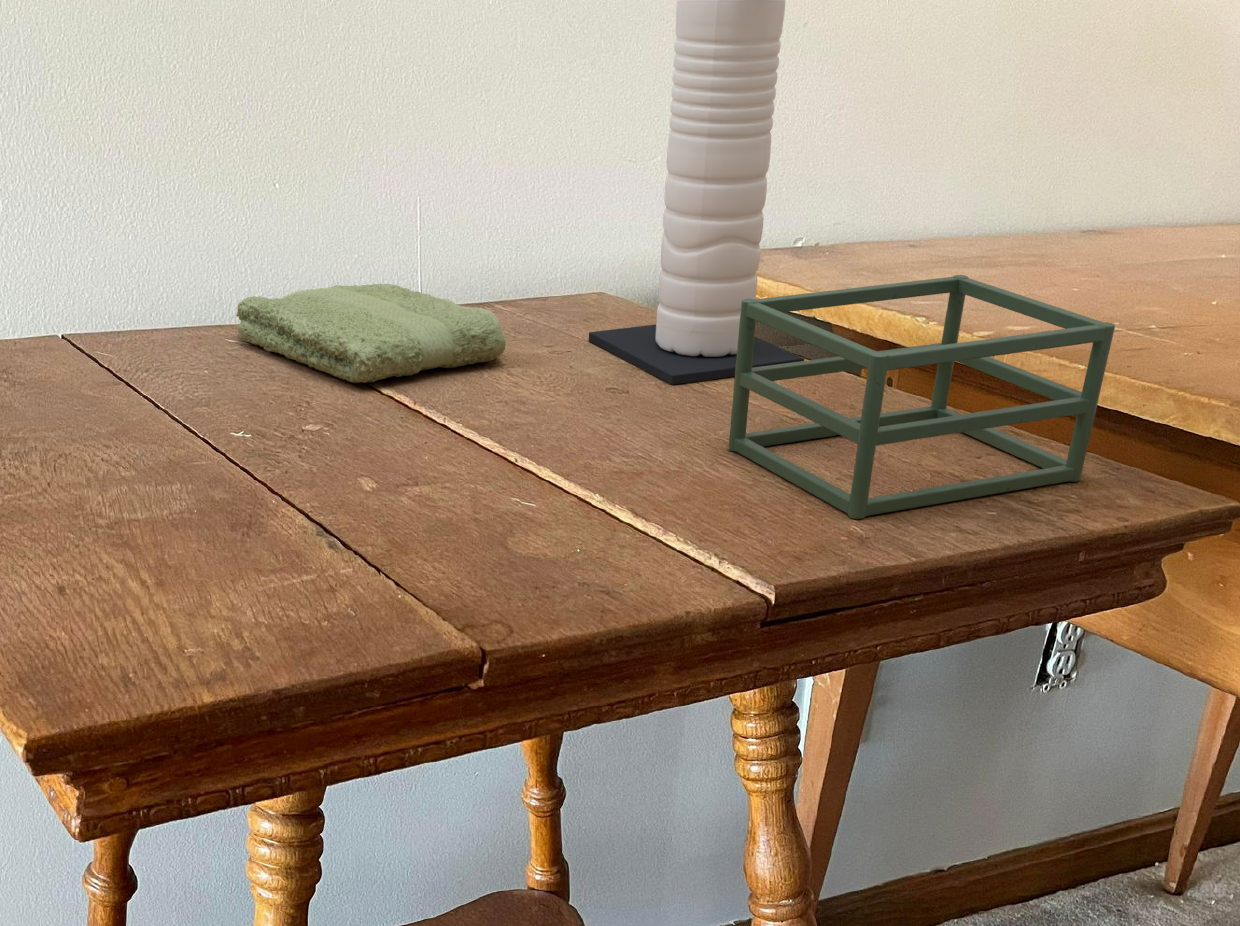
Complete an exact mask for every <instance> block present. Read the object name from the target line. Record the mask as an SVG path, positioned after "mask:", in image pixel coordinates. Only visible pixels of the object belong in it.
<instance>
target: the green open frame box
mask: <svg viewBox="0 0 1240 926" xmlns="http://www.w3.org/2000/svg"><path fill="white" fill-rule="evenodd" d="M942 294H948V300H947V306H946V311H945V313H946V314H945V319H944V325H943V330H942V337H941V342H937V343H932V344H930V343H929V344H924V345H915V346H907V347H901V348H892V349H885V350H874V349H872V348H869V347H868V346H865V345H862V344H860V343H857V342H855V341H852V340H850V339H847V338H846V337H843V336H840V335H838V334H836V333H833V332H830V331H828V330H826V329H823V328H821V327H820V326H819V327H818V326H816V325H813V324H811V323H809V322H806V321H804V320H802V319H799V318H797V317H794V316H792V315H789V314H787V313H790V312H799V311H807V310H816V309H817V310H818V309H825V308H832V307H842V306H849V305H856V304H857V305H858V304H866V303H875V302H883V301H892V300H900V299H908V298H917V297H926V296H933V295H942ZM966 296H968V297H971V298H973V299H976V300H979V301H982V302H986V303H988V304H992V305H993V306H997V307H999V308H1000V307H1001V308H1003V309H1006V310H1009V311H1011V312H1015V313H1018V314H1021V315H1024V316H1026V317H1029V318H1033V319H1035V320H1038V321H1041V322H1044V323H1047V324H1049V325H1050V324H1051V325H1052V326H1056V327H1059V328H1061V329H1054V330H1045V331H1037V332H1031V333H1024V334H1023V333H1022V334H1015V335H1007V336H1001V337H999V336H998V337H993V338H984V339H978V340H971V341H969V340H968V341H961V342H958V341H959V336H960V330H961V323H962V319H963V318H962V317H963V312H964V305H965V300H966ZM757 322H759V323H760V324H764V326H765V325H766V326H767V327H770V328H772V329H774V330H777V331H779V332H782V333H784V334H787V335H788V336H791V337H793V338H795V339H798V340H800V341H803V342H805V343H807V344H810V345H812V346H814V347H816V348H819V349H821V350H823V351H826V352H828V353H831V354H833V355H835V356H832V357H825V358H824V357H823V358H816V359H807V360H804V361H800V362H792V363H785V364H777V365H770V366H762V367H754V368H752V362H753V351H754V341H755V337H756V328H757ZM1115 329H1116V324H1114V323H1112V322H1108V321H1107V322H1105V321H1101V320H1098V319H1095V318H1092V317H1089V316H1085V315H1082V314H1080V313H1076V312H1074V311H1070V310H1068V309H1064V308H1062V307H1058V306H1055V305H1052V304H1049V303H1046V302H1043V301H1040V300H1037V299H1034V298H1031V297H1027V296H1024V295H1022V294H1018V293H1016V292H1013V291H1009V290H1006V289H1003V288H1000V287H997V286H995V285H991V284H988V283H985V282H982V281H979V280H976V279H973V278H970V277H969V276H968V275H965V274H964V275H963V274H954V275H952V276H947V277H939V278H931V279H930V278H929V279H920V280H912V281H903V282H895V283H887V284H885V283H884V284H877V285H868V286H859V287H852V288H851V287H850V288H843V289H842V288H841V289H834V290H824V291H817V292H808V293H798V294H790V295H782V296H772V297H764V298H756V299H743V300H742V302H741V313H740V324H739V335H738V347H737V358H736V369H735V377H734V381H733V394H732V403H731V415H730V416H731V417H730V425H729V426H730V427H729V438H728V450H729V451H731V452H735V453H738V454H740V455H742V456H743V457H745V458H747V459H748V460H751V461H752V462H754V463H756V464H757V465H760V466H761V467H763V468H765V469H766V470H768V471H770V472H771V473H774V474H775V475H777V476H779V477H781V478H783V479H785V480H786V481H787V482H790V483H792V484H793V485H795V486H797V487H799V488H800V489H802V490H805V492H808V493H810V494H812V495H813V496H815V497H817V498H819V499H820V500H822V501H823V502H825V503H828V504H829V505H831V506H833V507H834V508H836V509H838V510H840V511H841V512H844V513H845V514H847V517H848V518H850V519H853V520H863V519H865V518H866V517H868V516H874V515H880V514H881V515H882V514H885V513H893V512H898V511H903V510H909V509H915V508H921V507H926V506H927V507H928V506H933V505H938V504H944V503H950V502H956V501H961V500H968V499H972V498H980V497H986V496H992V495H996V494H1002V493H1008V492H1014V491H1019V490H1026V489H1031V488H1037V487H1042V486H1043V487H1044V486H1049V485H1054V484H1060V483H1066V482H1071V483H1075V482H1076V483H1077V482H1079V481H1080V480H1081V477H1082V474H1083V469H1084V465H1085V461H1086V456H1087V453H1088V446H1089V442H1090V438H1091V434H1092V430H1093V424H1094V421H1095V417H1096V413H1097V408H1098V403H1099V400H1100V394H1101V390H1102V387H1103V386H1102V385H1103V382H1104V378H1105V373H1106V369H1107V365H1108V359H1109V354H1110V350H1111V347H1112V346H1111V345H1112V342H1113V337H1114V333H1115ZM1085 344H1092V345H1091V349H1090V354H1089V358H1088V363H1087V368H1086V371H1085V375H1084V381H1083V385H1082V390H1081V391H1080V390H1078V389H1074V388H1072V387H1069V386H1067V385H1064V384H1062V383H1059V382H1056V381H1054V380H1051V379H1049V378H1046V377H1043V376H1041V375H1038V374H1035V373H1033V372H1030V371H1028V370H1025V369H1022V368H1019V367H1017V366H1015V365H1012V364H1009V363H1007V362H1004V361H1001V360H999V359H996V358H993V357H997V356H1005V355H1010V354H1011V355H1012V354H1018V353H1019V354H1020V353H1026V352H1033V351H1035V352H1036V351H1041V350H1042V351H1043V350H1048V349H1049V350H1050V349H1056V348H1065V347H1070V346H1077V345H1085ZM955 362H957V363H958V364H961V365H964V366H966V367H969V368H972V369H974V370H977V371H979V372H981V373H983V374H984V373H985V374H986V375H989V376H991V377H994V378H997V379H1000V380H1002V381H1005V382H1007V383H1009V384H1012V385H1015V386H1017V387H1020V388H1022V389H1023V390H1024V389H1025V390H1027V391H1030V392H1031V393H1034V394H1037V395H1039V396H1042V397H1044V398H1047V399H1050V400H1051V401H1043V402H1036V403H1029V404H1023V405H1016V406H1015V405H1014V406H1009V407H1003V408H997V409H990V410H982V411H976V412H969V413H963V414H961V413H959V412H957V411H954V410H952V409H951V408H948V407H947V406H948V401H949V394H950V388H951V382H952V376H953V370H954V365H955ZM931 365H937V368H936V373H935V378H934V385H933V391H932V396H931V404H930V405H929V406H922V407H915V408H908V409H901V410H895V411H888V412H882V406H883V398H884V392H885V386H886V379H887V372H888V371H893V370H894V371H895V370H901V369H910V368H917V367H923V366H931ZM865 369H867V372H866V381H865V388H864V395H863V402H862V410H861V415H859V416H854V417H848V416H846V415H843V414H841V413H840V412H837V411H835V410H833V409H831V408H829V407H827V406H825V405H822V404H820V403H818V402H816V401H814V400H812V399H810V398H808V397H806V396H804V395H802V394H800V393H797V392H795V391H793V390H791V389H789V388H787V387H785V386H783V385H781V384H778V383H776V382H777V381H784V380H791V379H798V378H799V379H800V378H807V377H814V376H821V375H829V374H836V373H843V372H851V371H858V370H865ZM751 392H753V393H755V394H757V395H758V396H760V397H762V398H765V399H767V400H768V401H771V402H773V403H775V404H777V405H778V406H781V407H783V408H785V409H787V410H789V411H791V412H793V413H795V414H797V415H798V416H800V417H803V418H805V419H807V420H809V421H811V423H808V424H807V423H806V424H800V425H792V426H785V427H779V428H773V429H771V428H770V429H766V430H765V429H764V430H759V431H750V432H747V424H748V416H749V415H748V413H749V405H750V393H751ZM1069 416H1076V417H1075V421H1074V426H1073V429H1072V436H1071V439H1070V444H1069V448H1068V454H1067V458H1066V459H1065V458H1063V457H1060V456H1058V455H1057V454H1054V453H1051V452H1049V451H1047V450H1044V449H1043V448H1040V447H1038V446H1035V445H1033V444H1030V443H1028V442H1026V441H1024V440H1022V439H1019V438H1017V437H1015V436H1012V435H1010V434H1008V433H1005V432H1003V431H1000V430H999V429H996V428H998V427H1004V426H1011V425H1017V424H1024V423H1032V422H1038V421H1044V420H1051V419H1056V418H1057V419H1058V418H1062V417H1063V418H1064V417H1069ZM812 422H813V423H812ZM960 433H963V434H965V435H968V436H969V437H972V438H975V439H977V440H978V441H981V442H983V443H986V444H987V445H990V446H992V447H994V448H997V449H999V450H1000V451H1003V452H1006V453H1007V454H1010V455H1013V456H1015V457H1017V458H1019V459H1021V460H1024V461H1026V462H1028V463H1030V464H1032V465H1035V466H1037V467H1039V468H1041V469H1036V470H1035V469H1034V470H1029V471H1023V472H1017V473H1010V474H1005V475H998V476H993V477H987V478H981V479H974V480H969V481H962V482H957V483H951V484H945V485H939V486H934V487H928V488H922V489H915V490H909V491H904V492H898V493H892V494H885V495H879V496H874V497H869V495H870V489H871V482H872V474H873V468H874V460H875V453H876V449H877V446H883V445H889V444H896V443H902V442H908V441H909V442H910V441H914V440H922V439H927V438H933V437H934V438H935V437H941V436H947V435H953V434H960ZM836 436H842V437H844V438H846V439H848V440H849V441H852V442H853V443H856V444H857V447H856V453H855V461H854V467H853V468H854V469H853V475H852V483H851V489H850V493H849V492H847V491H845V490H843V489H841V488H839V487H838V486H836V485H834V484H832V483H830V482H829V481H827V480H825V479H823V478H821V477H819V476H817V475H816V474H814V473H812V472H810V471H808V470H806V469H805V468H803V467H801V466H799V465H797V464H795V463H793V462H792V461H790V460H788V459H786V458H784V457H782V456H780V455H779V454H776V453H775V452H773V451H771V450H769V449H767V448H765V447H769V446H775V445H781V444H789V443H795V442H801V441H802V442H803V441H810V440H817V439H823V438H828V437H829V438H830V437H836Z"/></svg>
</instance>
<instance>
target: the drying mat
mask: <svg viewBox="0 0 1240 926" xmlns="http://www.w3.org/2000/svg"><path fill="white" fill-rule="evenodd" d="M588 341H589V342H590V343H592V344H594V345H595V346H597V347H599V348H601V349H603V350H605V351H607V352H609V353H611V354H613V355H614V356H616V357H618V358H620V359H622V360H624V361H626V362H627V363H630V364H632V365H633V366H635V367H637V368H639V369H641V370H643V371H645V372H647V373H649V374H651V375H653V376H654V377H656V378H658V379H660V380H662V381H663V382H665V383H668V384H670V385H672V386H673V385H674V386H675V385H682V384H688V383H696V382H697V383H698V382H703V381H711V380H718V379H726V378H727V379H728V378H735V369H736V358H737V354H734V355H729V354H727V355H725V356H721V357H705V356H703V355H702V354H700V355H698V356H686V355H680V354H677V353H676V352H669V351H666V350H664V349H662V348H660V346H659V345H658V344H657V343H656V323H655V324H647V325H638V326H630V327H622V328H614V329H613V328H612V329H604V330H597V331H589V332H588ZM800 361H805V358H804V357H802V356H800V355H798V354H795V353H794V352H791V351H789V350H787V349H785V348H781V347H780V346H778V345H775V344H773V343H770V342H769V341H766V340H764V339H761V338H759V337H757V336H755V341H754V351H753V362H752V368H754V367H762V366H770V365H777V364H785V363H792V362H800Z"/></svg>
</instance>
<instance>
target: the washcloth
mask: <svg viewBox="0 0 1240 926" xmlns="http://www.w3.org/2000/svg"><path fill="white" fill-rule="evenodd" d="M235 316H236V317H238V320H239V321H240V322H239V324H238V327H237V333H238V336H239V338H240V339H242V340H243V341H244V342H246V343H250V344H251V345H254V346H259V347H261V348H263V350H265V351H267V352H269V353H270V352H273V353H277V354H280V355H282V356H284V357H286V358H287V359H289V360H294V361H296V362H297V363H302V364H305V365H306V366H307V365H308V367H309V368H314V370H318V371H321V372H324V373H327V374H329V375H330V376H333V377H335V378H338V379H341V380H346V381H347V382H350V383H374V382H377V381H381V380H385V379H387V378H391V377H396V378H398V377H399V378H400V377H405V376H406V377H407V376H413V375H415V374H418V373H419V372H420V371H426V370H432V369H436V368H444V369H456V368H458V367H462V366H466V365H474V364H478V363H488V362H491V361H493V360H495V358H497V357H500V356H501V355H502V354H503V353H504V351H505V350H506V346H507V345H506V343H507V342H506V338H505V335H504V332H503V328H502V326H501V323H500V320H499V319H498V317H497V315H495V314H494V313H493V312H492V311H491V310H488V309H487V308H483V307H482V308H481V307H467V306H463V305H460V304H457V303H455V302H454V301H452V300H450V299H447V298H441V297H436V296H432V295H431V294H430V293H429V294H428V293H424V292H421V291H414V290H411V289H409V288H406V287H403V286H400V285H397V284H393V283H373V284H361V285H339V284H337V285H336V284H335V285H333V286H329V287H324V288H323V287H322V288H320V287H319V288H311V289H301V290H300V289H299V290H296V291H294V292H290V293H289V294H287V295H284V296H282V297H280V298H278V297H277V298H269V297H264V296H255V295H253V296H248V297H246V298H244V299H242V300H240V301H239V302H238V303H237V311H236V313H235Z"/></svg>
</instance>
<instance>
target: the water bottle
mask: <svg viewBox="0 0 1240 926" xmlns="http://www.w3.org/2000/svg"><path fill="white" fill-rule="evenodd" d="M675 6H676V8H675V11H676V12H675V36H676V39H675V41H674V52H675V54H674V56H673V67H674V70H673V72H672V83H673V85H672V87H671V98H672V101H671V102H670V113H671V116H670V117H669V127H670V130H669V132H668V141H667V151H666V169H667V175H666V178H665V184H664V205H665V210H664V212H663V216H662V228H663V232H662V236H661V245H660V266H661V272H660V274H659V279H658V300H659V304H658V305H657V309H656V320H655V321H656V322H655V324H656V343H657V344H658V345H659V346H660V348H662V349H664V350H666V351H669V352H676V353H677V354H680V355H686V356H698V355H700V354H702V355H703V356H705V357H721V356H725V355H727V354H729V355H734V354H737V347H738V335H739V324H740V313H741V302H742V300H743V299H757V292H758V274H757V271H758V269H759V267H760V262H761V246H760V243H761V241H762V238H763V231H764V230H763V229H764V213H763V210H764V208H765V206H766V199H767V193H768V192H767V191H768V180H767V179H768V178H767V173H768V172H769V168H770V160H771V152H772V151H771V150H772V149H771V147H772V132H771V131H772V129H773V126H774V119H773V115H774V113H775V103H774V101H775V99H776V97H777V96H776V95H777V89H776V84H777V82H778V72H777V70H778V68H779V65H780V58H779V53H780V51H781V47H782V45H781V41H780V38H781V37H782V33H783V28H784V27H783V26H784V20H785V11H786V0H676V5H675Z"/></svg>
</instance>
